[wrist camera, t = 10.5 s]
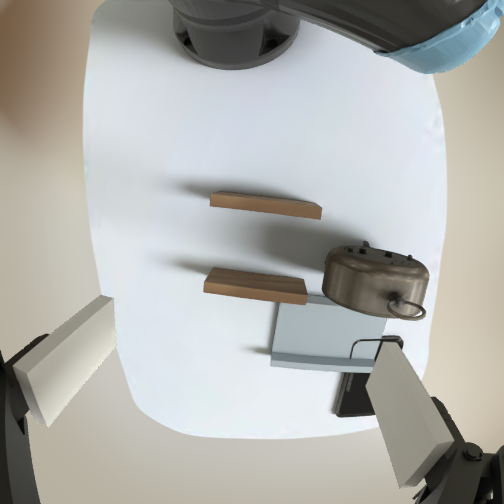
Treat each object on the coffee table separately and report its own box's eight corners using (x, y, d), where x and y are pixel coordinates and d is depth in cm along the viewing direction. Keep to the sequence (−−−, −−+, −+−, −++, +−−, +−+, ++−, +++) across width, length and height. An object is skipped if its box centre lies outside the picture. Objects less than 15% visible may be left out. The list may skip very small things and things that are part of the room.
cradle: (281, 291, 36) (281, 299, 34) (389, 303, 36) (396, 311, 33) (270, 355, 39) (270, 366, 36) (370, 362, 38) (375, 372, 36)
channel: (219, 191, 34) (210, 194, 29) (315, 203, 33) (322, 207, 29) (212, 276, 37) (203, 292, 32) (302, 288, 36) (305, 305, 31)
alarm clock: (313, 274, 36) (338, 347, 20) (321, 230, 34) (356, 276, 18) (395, 283, 35) (456, 349, 19) (404, 242, 34) (478, 289, 18)
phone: (405, 338, 36) (379, 414, 40) (402, 334, 37) (378, 410, 41) (352, 339, 37) (333, 417, 40) (351, 335, 38) (333, 413, 41)
